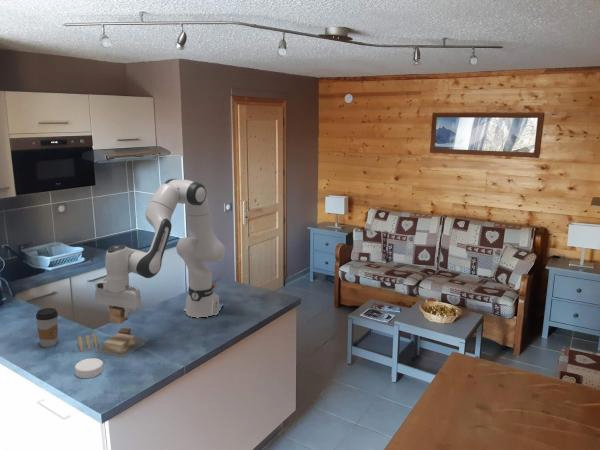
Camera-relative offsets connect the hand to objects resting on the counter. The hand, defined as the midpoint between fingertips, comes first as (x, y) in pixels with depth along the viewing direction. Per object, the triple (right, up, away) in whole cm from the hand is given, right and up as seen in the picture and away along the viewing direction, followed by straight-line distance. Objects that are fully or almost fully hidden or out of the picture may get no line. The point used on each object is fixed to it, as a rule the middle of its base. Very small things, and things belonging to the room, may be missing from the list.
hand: (118, 315), depth 204 cm
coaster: (-5, -19, -16) cm, 25 cm away
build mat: (0, -14, +5) cm, 15 cm away
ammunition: (-14, -14, +3) cm, 20 cm away
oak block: (0, -2, 0) cm, 2 cm away
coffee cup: (-31, -13, +4) cm, 34 cm away
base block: (-1, -14, +3) cm, 14 cm away
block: (-2, -12, +12) cm, 17 cm away
